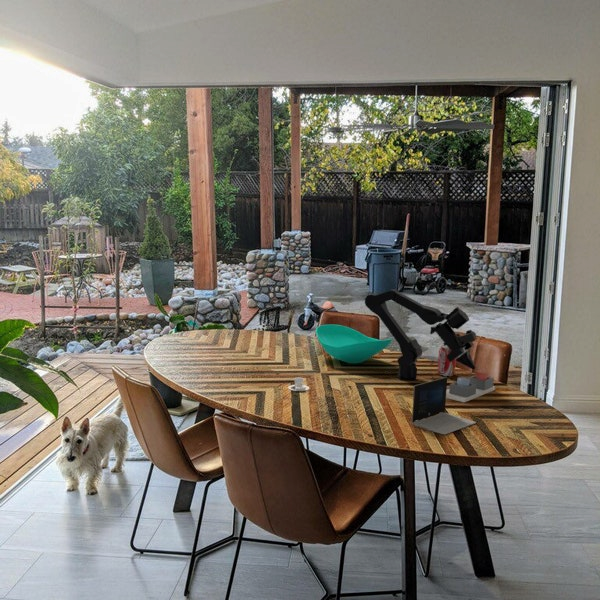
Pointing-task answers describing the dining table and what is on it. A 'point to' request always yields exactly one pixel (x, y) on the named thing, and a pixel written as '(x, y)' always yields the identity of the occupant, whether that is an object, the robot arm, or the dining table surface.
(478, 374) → the red button
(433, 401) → the laptop
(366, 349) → the table top decor
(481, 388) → the button panel
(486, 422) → the dining table surface
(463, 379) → the slate button
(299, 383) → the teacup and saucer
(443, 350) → the soda can
